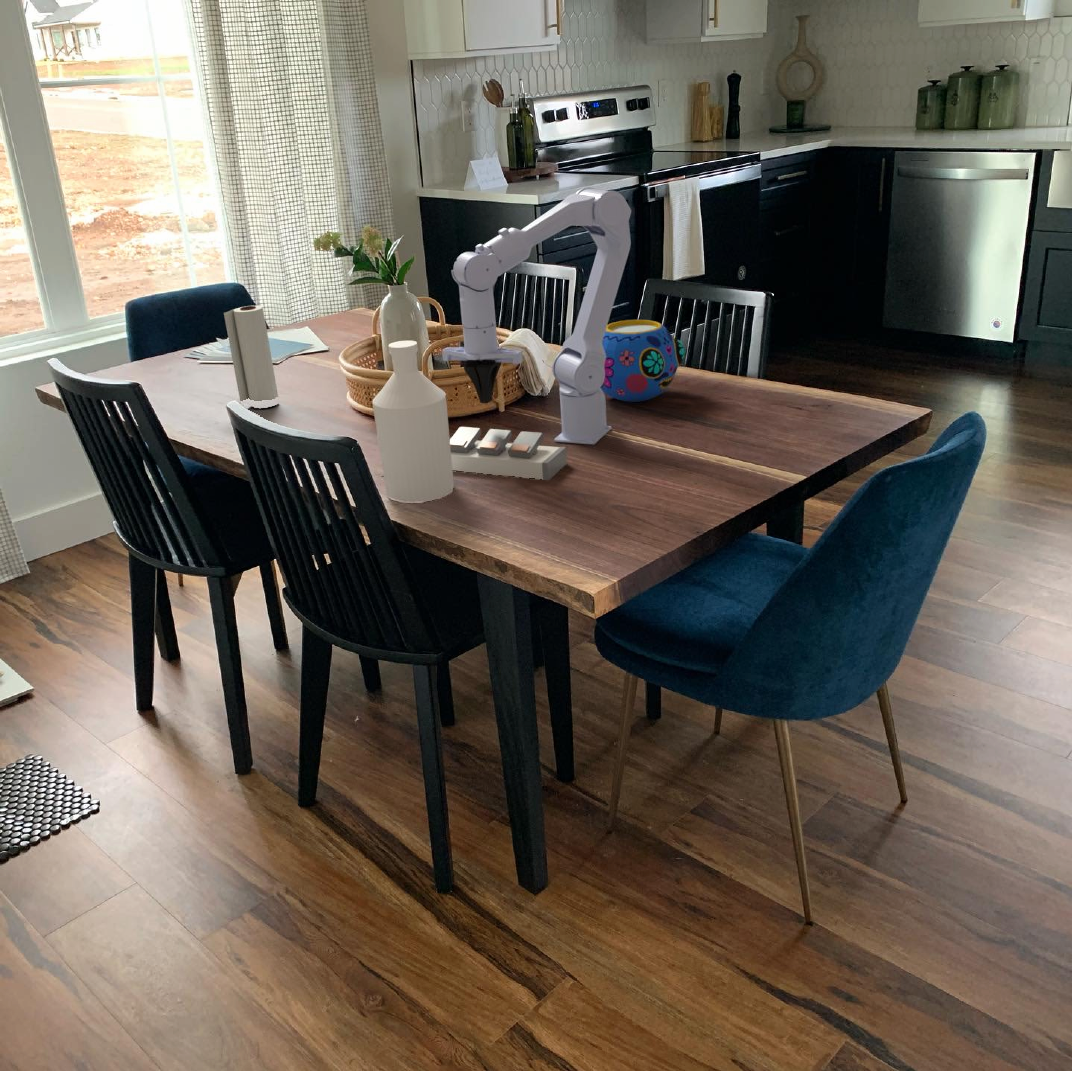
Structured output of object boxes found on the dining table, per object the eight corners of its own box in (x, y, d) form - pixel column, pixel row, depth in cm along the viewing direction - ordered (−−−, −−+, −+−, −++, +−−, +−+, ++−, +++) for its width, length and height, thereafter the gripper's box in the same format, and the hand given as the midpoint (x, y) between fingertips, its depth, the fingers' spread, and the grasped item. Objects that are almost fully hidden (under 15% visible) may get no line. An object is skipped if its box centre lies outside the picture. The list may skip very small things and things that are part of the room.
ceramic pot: (650, 416, 207) (648, 340, 201) (575, 404, 217) (571, 331, 211) (695, 392, 220) (694, 319, 213) (622, 382, 230) (619, 313, 224)
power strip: (421, 450, 198) (418, 432, 196) (566, 463, 186) (565, 444, 185) (398, 466, 191) (396, 447, 189) (548, 480, 179) (547, 460, 178)
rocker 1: (461, 432, 191) (459, 425, 190) (481, 433, 189) (479, 427, 189) (447, 451, 187) (445, 444, 186) (467, 453, 185) (465, 446, 184)
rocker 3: (522, 437, 186) (521, 430, 185) (543, 438, 185) (542, 431, 184) (509, 456, 182) (507, 449, 181) (530, 458, 181) (529, 451, 180)
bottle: (370, 493, 179) (350, 347, 169) (425, 473, 187) (408, 331, 177) (414, 510, 171) (396, 357, 161) (470, 487, 179) (455, 340, 169)
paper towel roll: (283, 401, 234) (266, 303, 225) (274, 409, 229) (257, 310, 220) (251, 402, 235) (233, 305, 226) (241, 410, 229) (223, 311, 221)
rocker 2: (491, 434, 189) (490, 427, 188) (512, 436, 187) (510, 429, 186) (477, 453, 185) (476, 447, 184) (498, 455, 183) (497, 448, 182)
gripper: (430, 329, 182) (438, 405, 187) (507, 331, 176) (513, 411, 181) (450, 319, 187) (457, 394, 193) (525, 321, 182) (530, 398, 187)
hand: (486, 401), depth 188 cm, fingers closed
